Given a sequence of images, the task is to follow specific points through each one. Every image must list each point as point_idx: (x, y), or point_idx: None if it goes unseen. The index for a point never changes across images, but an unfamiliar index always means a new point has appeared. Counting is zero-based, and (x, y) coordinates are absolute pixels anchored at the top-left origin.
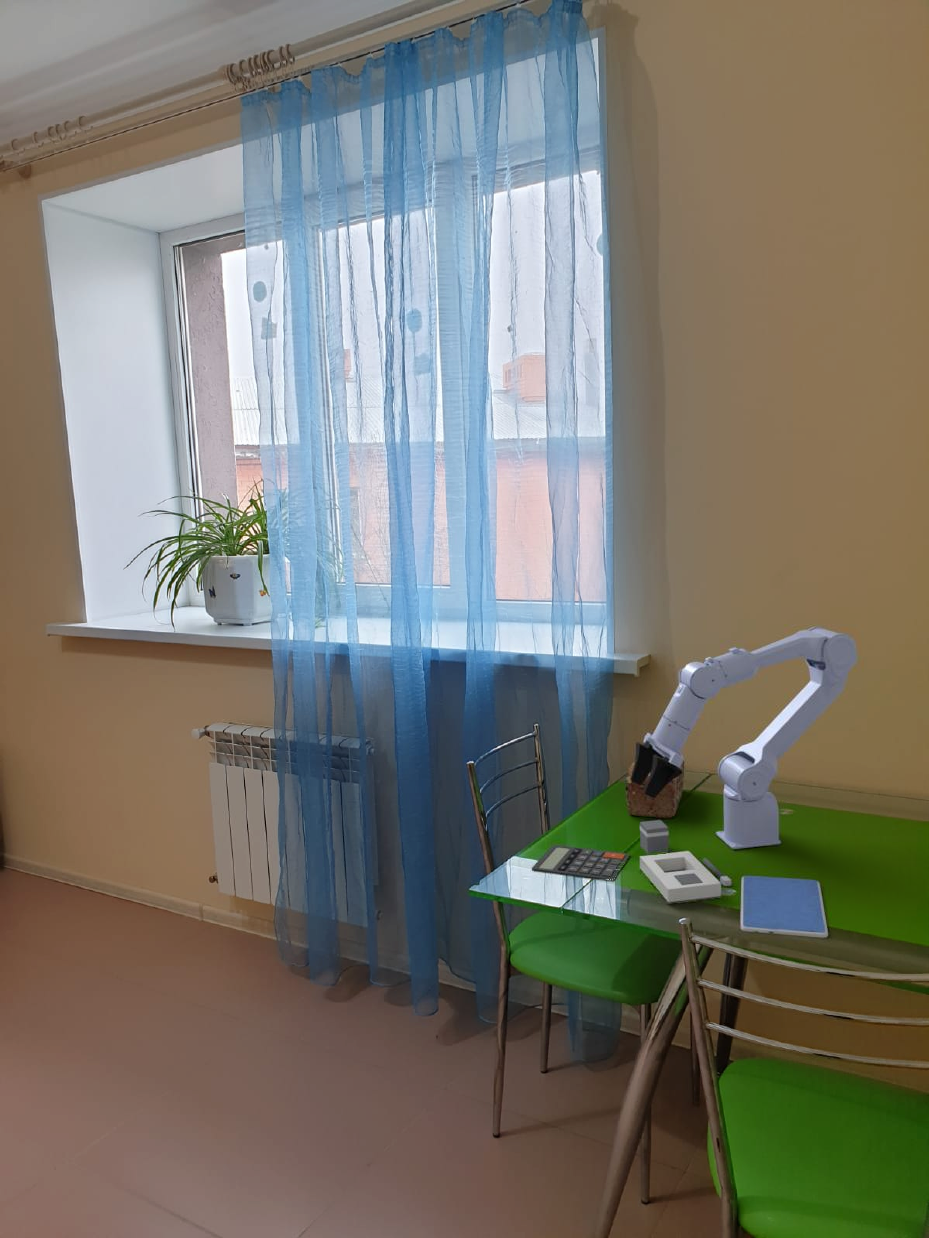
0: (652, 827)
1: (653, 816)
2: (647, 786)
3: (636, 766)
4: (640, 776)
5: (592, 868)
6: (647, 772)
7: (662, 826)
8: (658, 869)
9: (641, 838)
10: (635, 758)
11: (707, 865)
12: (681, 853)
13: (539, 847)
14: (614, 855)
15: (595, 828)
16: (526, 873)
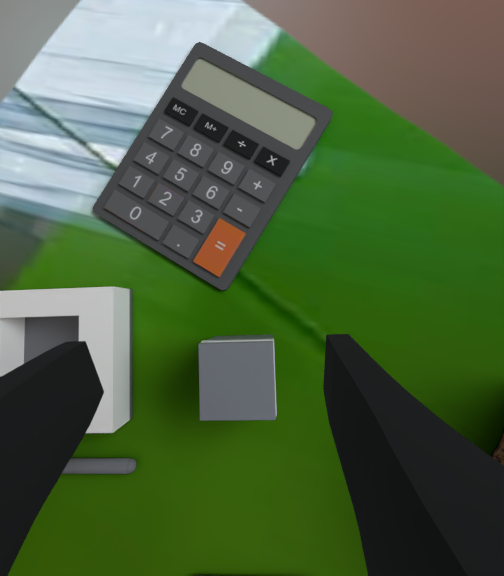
0: (212, 367)
1: (498, 447)
2: (22, 366)
3: (365, 405)
4: (335, 408)
5: (161, 178)
6: (349, 480)
7: (212, 404)
8: (21, 309)
9: (262, 337)
10: (471, 445)
11: (97, 459)
12: (102, 406)
13: (334, 81)
14: (218, 247)
15: (440, 251)
16: (184, 32)
